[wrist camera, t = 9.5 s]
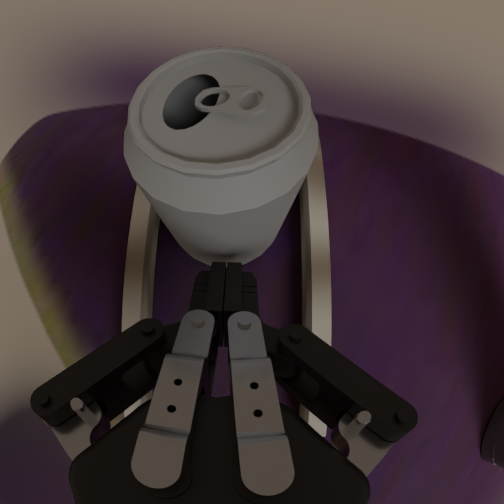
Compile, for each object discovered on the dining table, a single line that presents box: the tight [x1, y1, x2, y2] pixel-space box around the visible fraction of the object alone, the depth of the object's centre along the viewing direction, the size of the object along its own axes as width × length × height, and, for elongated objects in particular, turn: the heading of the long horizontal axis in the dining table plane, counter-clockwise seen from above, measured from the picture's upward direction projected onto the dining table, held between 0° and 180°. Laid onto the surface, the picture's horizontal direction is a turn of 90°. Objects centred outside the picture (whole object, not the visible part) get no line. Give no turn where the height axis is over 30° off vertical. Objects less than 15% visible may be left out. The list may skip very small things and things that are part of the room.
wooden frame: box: [122, 137, 331, 437], centre depth 17 cm, size 20×12×2 cm, turn 179°
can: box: [124, 46, 318, 267], centre depth 14 cm, size 8×8×12 cm
